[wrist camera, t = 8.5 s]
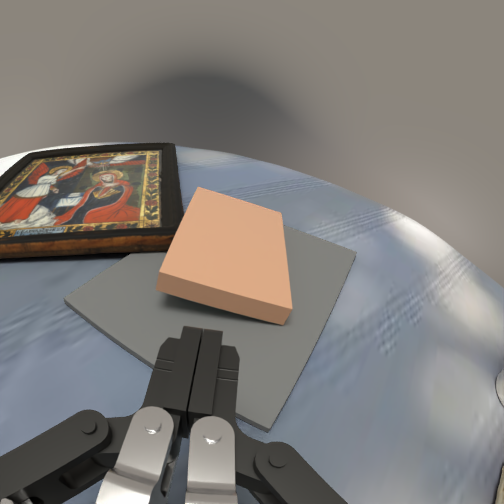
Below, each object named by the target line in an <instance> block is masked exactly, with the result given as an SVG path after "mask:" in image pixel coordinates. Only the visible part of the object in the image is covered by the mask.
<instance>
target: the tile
mask: <svg viewBox="0 0 504 504" xmlns="http://www.w3.org/2000/svg"><path fill="white" fill-rule="evenodd" d="M156 290H157V291H160V292H163V293H167V294H170V295H173V296H177V297H180V298H183V299H187V300H190V301H194V302H197V303H201V304H204V305H208V306H211V307H215V308H218V309H222V310H226V311H229V312H233V313H237V314H241V315H244V316H248V317H252V318H256V319H260V320H264V321H268V322H272V323H276V324H280V325H284V323H285V321H286V320H287V318H288V316H289V314H290V313H291V311H292V299H291V290H290V281H289V272H288V263H287V255H286V246H285V238H284V230H283V222H282V214H281V213H279V212H276V211H273V210H270V209H267V208H264V207H261V206H258V205H255V204H252V203H249V202H246V201H242V200H239V199H236V198H233V197H230V196H227V195H223V194H220V193H217V192H214V191H210V190H207V189H204V188H200V187H197V190H196V192H195V194H194V196H193V198H192V200H191V202H190V204H189V206H188V208H187V210H186V213H185V215H184V217H183V219H182V221H181V223H180V225H179V228H178V230H177V232H176V234H175V236H174V239H173V241H172V243H171V245H170V248H169V250H168V252H167V254H166V257H165V259H164V261H163V264H162V266H161V268H160V271H159V274H158V280H157V285H156Z"/></svg>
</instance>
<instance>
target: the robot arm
mask: <svg viewBox="0 0 504 504" xmlns="http://www.w3.org/2000/svg"><path fill="white" fill-rule="evenodd" d="M222 338H223V331H219V330H212V329H205V328H204V331H203V328H197V327H190V326H184V327H183V329H182V333H181V337H180V339H178V338H171V337H168V338H167V339H166V340H165V342H164V343H163V344H162V345H161V346H160V348H159V352H158V355H157V360H156V362H155V365H154V369H153V372H152V375H151V378H150V382H149V385H148V389H147V392H146V396H145V399H144V402H143V405H142V406H141V408H140V409H139V410H138V411H137V412H135V413H134V414H132V415H130V416H126V417H115V418H105V417H104V416H103V415H102V414H101V413H99V412H97V411H95V410H83V411H80V412H78V413H76V414H75V415H73V416H71V417H70V418H68V419H66V420H65V421H63V422H61V423H59V424H58V425H56V426H54V427H52V428H51V429H49V430H47V431H46V432H44V433H42V434H40V435H39V436H37V437H35V438H33V439H31V440H30V441H28V442H26V443H24V444H23V445H21V446H19V447H17V448H15V449H14V450H12V451H10V452H8V453H6V454H4V455H3V456H1V457H0V504H62V503H64V502H65V501H67V500H69V499H71V498H72V497H74V496H76V495H77V494H79V493H81V492H82V491H84V490H86V489H87V488H89V487H90V486H92V485H94V484H95V483H97V482H98V481H100V480H102V479H103V478H104V480H103V483H102V486H101V488H100V491H99V494H98V497H97V500H96V503H95V504H168V496H169V492H170V488H171V484H172V480H173V476H174V472H175V468H176V465H177V461H178V457H179V452H180V446H181V440H182V438H189V432H190V448H189V463H188V481H187V489H186V498H185V504H238V502H237V493H236V488H235V484H237V485H239V486H242V487H244V488H247V489H248V490H249V491H250V493H251V494H252V495H253V496H254V497H255V498H256V500H257V501H258V502H259V503H260V504H348V503H347V502H346V501H345V500H344V499H343V498H342V497H341V496H340V495H338V494H337V493H336V492H335V491H334V490H333V489H332V488H331V487H330V486H329V485H328V484H327V483H326V482H325V481H324V480H323V479H322V478H321V477H320V476H319V475H318V473H317V472H316V471H315V470H314V469H313V468H312V467H311V466H310V465H309V464H308V463H307V462H306V461H305V460H304V459H303V458H302V457H301V456H300V455H299V453H298V452H297V451H296V450H295V449H294V448H293V447H291V446H290V445H288V444H286V443H283V442H270V443H267V444H266V443H263V442H260V441H258V440H255V439H252V438H250V437H248V436H247V435H245V434H244V433H243V432H242V431H241V430H240V429H239V428H238V426H237V423H236V420H235V412H236V400H237V388H238V375H239V363H240V357H239V354H238V352H237V350H236V347H235V346H227V345H222Z"/></svg>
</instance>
